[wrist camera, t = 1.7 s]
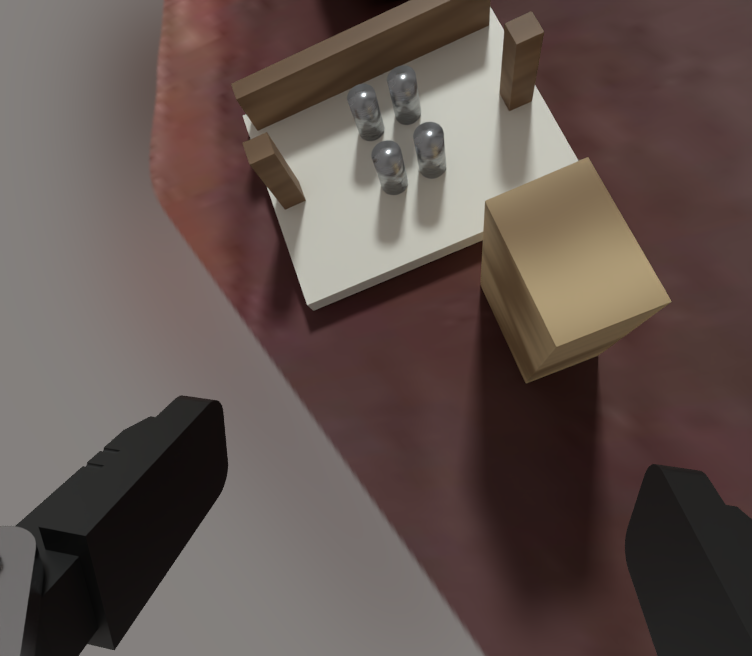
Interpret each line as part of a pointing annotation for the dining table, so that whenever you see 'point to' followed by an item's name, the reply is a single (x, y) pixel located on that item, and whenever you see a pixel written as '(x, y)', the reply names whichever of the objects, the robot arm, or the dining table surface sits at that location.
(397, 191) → the pegs
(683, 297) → the dining table surface
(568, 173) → the oak block
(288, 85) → the walnut frame
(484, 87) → the peg stand
